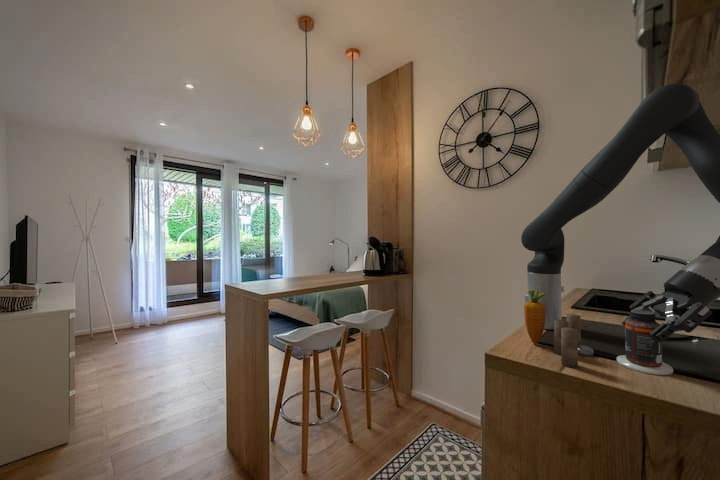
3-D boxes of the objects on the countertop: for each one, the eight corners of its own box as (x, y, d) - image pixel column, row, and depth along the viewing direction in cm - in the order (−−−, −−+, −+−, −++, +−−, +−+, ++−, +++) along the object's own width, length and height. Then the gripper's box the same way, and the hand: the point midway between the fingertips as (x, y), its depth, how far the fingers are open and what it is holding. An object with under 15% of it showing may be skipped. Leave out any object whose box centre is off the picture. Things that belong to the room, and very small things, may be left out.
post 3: (558, 363, 67) (558, 328, 67) (567, 361, 68) (566, 326, 68) (572, 369, 64) (571, 332, 64) (581, 366, 65) (580, 330, 65)
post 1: (551, 352, 73) (551, 320, 73) (559, 350, 75) (558, 318, 75) (563, 356, 71) (563, 323, 71) (571, 354, 72) (571, 321, 72)
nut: (585, 358, 70) (585, 353, 70) (569, 350, 74) (569, 346, 74) (597, 355, 71) (597, 350, 71) (580, 348, 75) (581, 343, 75)
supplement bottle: (670, 369, 62) (670, 315, 62) (637, 367, 63) (636, 314, 63) (648, 358, 68) (648, 308, 68) (619, 356, 69) (618, 308, 69)
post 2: (564, 344, 78) (563, 314, 78) (571, 343, 80) (570, 313, 80) (576, 348, 76) (575, 317, 76) (583, 346, 77) (583, 316, 77)
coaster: (607, 361, 67) (607, 359, 67) (629, 355, 71) (629, 352, 71) (659, 378, 59) (659, 375, 59) (682, 370, 63) (682, 367, 63)
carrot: (536, 340, 82) (535, 286, 82) (550, 347, 77) (549, 289, 77) (520, 341, 81) (519, 287, 81) (533, 348, 76) (532, 290, 76)
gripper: (659, 265, 70) (605, 312, 73) (718, 272, 56) (649, 330, 59) (686, 288, 69) (630, 334, 72) (753, 301, 55) (681, 358, 58)
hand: (638, 332), depth 65 cm, fingers open, 8 cm apart
